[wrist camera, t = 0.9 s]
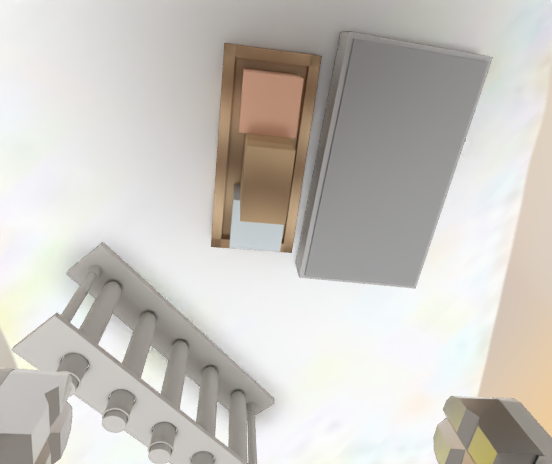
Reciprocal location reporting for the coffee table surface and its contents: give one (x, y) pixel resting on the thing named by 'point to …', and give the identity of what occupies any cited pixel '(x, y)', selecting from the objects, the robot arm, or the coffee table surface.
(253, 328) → the coffee table surface
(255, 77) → the block
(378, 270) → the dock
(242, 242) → the pale blue cube
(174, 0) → the coffee table surface
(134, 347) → the test tube rack
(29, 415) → the robot arm
